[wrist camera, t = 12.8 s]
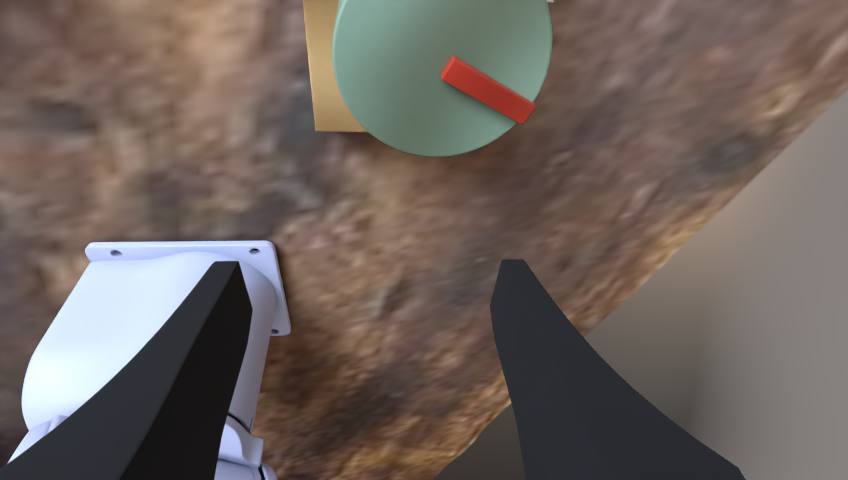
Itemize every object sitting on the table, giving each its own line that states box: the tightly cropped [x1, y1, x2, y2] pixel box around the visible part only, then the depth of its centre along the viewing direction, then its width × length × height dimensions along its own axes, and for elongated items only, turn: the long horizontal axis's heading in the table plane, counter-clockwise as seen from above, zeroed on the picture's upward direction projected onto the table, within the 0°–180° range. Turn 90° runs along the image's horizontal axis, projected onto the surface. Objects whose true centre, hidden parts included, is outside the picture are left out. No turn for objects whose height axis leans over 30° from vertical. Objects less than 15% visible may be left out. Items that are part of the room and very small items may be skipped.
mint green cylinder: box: [332, 0, 553, 157], centre depth 13 cm, size 5×5×7 cm
